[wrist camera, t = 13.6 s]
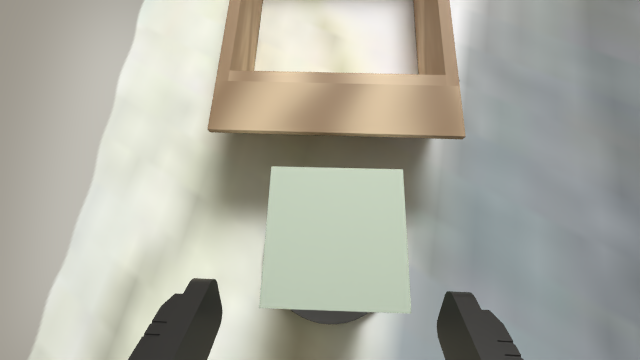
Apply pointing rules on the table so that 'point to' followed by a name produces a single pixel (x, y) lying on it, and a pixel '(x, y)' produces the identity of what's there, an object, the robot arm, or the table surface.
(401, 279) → the box
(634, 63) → the table surface
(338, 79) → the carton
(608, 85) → the table surface
